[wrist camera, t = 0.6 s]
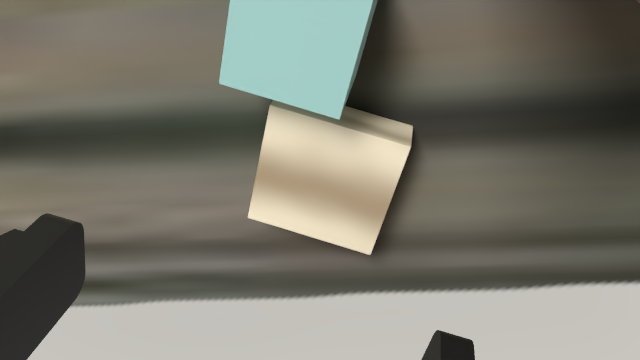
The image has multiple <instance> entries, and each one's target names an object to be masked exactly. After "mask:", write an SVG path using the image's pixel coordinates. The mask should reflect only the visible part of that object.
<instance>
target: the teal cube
mask: <svg viewBox="0 0 640 360" xmlns="http://www.w3.org/2000/svg"><path fill="white" fill-rule="evenodd" d="M377 1H378V0H230V6H229V13H228V21H227V28H226V35H225V43H224V50H223V57H222V65H221V72H220V79H219V84H222V85H226V86H229V87H232V88H236V89H239V90H242V91H246V92H249V93H252V94H256V95H259V96H262V97H266V98H269V99H272V100H275V101H279V102H282V103H285V104H289V105H292V106H295V107H299V108H302V109H305V110H309V111H312V112H315V113H319V114H322V115H325V116H329V117H332V118H335V119H339V120H340V117H341V114H342V112H343V109H344V106H345V104H346V101H347V98H348V96H349V93H350V90H351V88H352V85H353V82H354V80H355V77H356V74H357V71H358V67H359V64H360V60H361V57H362V53H363V50H364V46H365V43H366V39H367V36H368V32H369V29H370V26H371V22H372V19H373V15H374V12H375V8H376V5H377Z"/></svg>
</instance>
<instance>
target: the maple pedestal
mask: <svg viewBox="0 0 640 360" xmlns="http://www.w3.org/2000/svg"><path fill="white" fill-rule="evenodd" d="M412 132H413V126H411V125H408V124H404V123H401V122H398V121H394V120H391V119H387V118H384V117H381V116H377V115H374V114H371V113H367V112H364V111H361V110H357V109H354V108H351V107H347V106H344V109H343V112H342V114H341V117H340V120H339V119H335V118H332V117H329V116H325V115H322V114H319V113H315V112H312V111H309V110H305V109H302V108H299V107H295V106H292V105H289V104H285V103H282V102H279V101H275V100H273V101H272V103H271V104H270V107H269V112H268V118H267V123H266V128H265V133H264V138H263V143H262V148H261V153H260V158H259V163H258V168H257V173H256V178H255V183H254V189H253V194H252V199H251V204H250V209H249V214H248V218H251V219H254V220H257V221H261V222H264V223H267V224H270V225H274V226H277V227H280V228H283V229H287V230H290V231H293V232H296V233H300V234H303V235H306V236H310V237H313V238H316V239H319V240H323V241H326V242H329V243H332V244H336V245H339V246H342V247H345V248H349V249H352V250H355V251H358V252H362V253H365V254H368V255H371V252H372V249H373V247H374V244H375V241H376V239H377V236H378V234H379V231H380V228H381V226H382V223H383V220H384V218H385V215H386V212H387V210H388V207H389V204H390V202H391V199H392V196H393V194H394V191H395V188H396V186H397V183H398V180H399V178H400V175H401V172H402V170H403V167H404V164H405V162H406V159H407V156H408V154H409V151H410V148H411V142H412Z"/></svg>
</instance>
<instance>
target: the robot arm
mask: <svg viewBox="0 0 640 360" xmlns="http://www.w3.org/2000/svg"><path fill="white" fill-rule="evenodd" d="M84 279H85V250H84V229H83V226H82V224H81V223H79V222H75V221H72V220H68V219H65V218H62V217H58V216H55V215H52V214H44V215H42V216H40V217H39V218H38V219H37V220H36V221H35V222H34V223H33V224H32V225H30V226H29V227H28V228H27V229H26V230H25V231H24V232H23V231H20V230H17V229H13V230H11V231H9V232H7V233H5V234H3V235H0V360H27V359H28V357H29V356H30V355H31V354H32V352H33V351H34V350H35V349H36V347H37V346H38V345H39V344H40V343H41V341H42V340H43V339H44V338H45V336H46V335H47V334H48V333H49V331H50V330H51V329H52V328H53V326H54V325H55V324H56V323H57V322H58V320H59V319H60V318H61V317H62V315H63V314H64V313H65V311H66V310H67V309H68V308H69V307H70V306H71V304H72V303H73V302H74V301H75V299H76V298H77V296H78V294H79V293H80V290H81V288H82V286H83V283H84ZM422 360H475V356H474V345H473V342H472V340H470V339H466V338H463V337H460V336H456V335H453V334H449V333H446V332H443V331H439V330H437V331H436V332H435V333H434V335H433V337H432V339H431V341H430V343H429V346H428V348H427V349H426V351H425V354H424V356H423V358H422Z"/></svg>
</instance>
